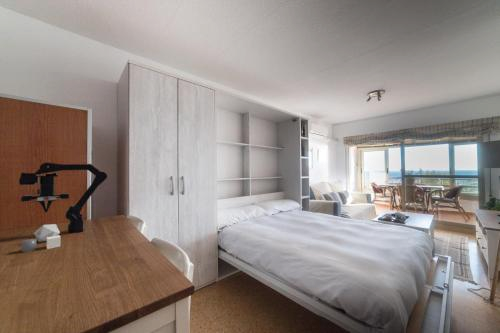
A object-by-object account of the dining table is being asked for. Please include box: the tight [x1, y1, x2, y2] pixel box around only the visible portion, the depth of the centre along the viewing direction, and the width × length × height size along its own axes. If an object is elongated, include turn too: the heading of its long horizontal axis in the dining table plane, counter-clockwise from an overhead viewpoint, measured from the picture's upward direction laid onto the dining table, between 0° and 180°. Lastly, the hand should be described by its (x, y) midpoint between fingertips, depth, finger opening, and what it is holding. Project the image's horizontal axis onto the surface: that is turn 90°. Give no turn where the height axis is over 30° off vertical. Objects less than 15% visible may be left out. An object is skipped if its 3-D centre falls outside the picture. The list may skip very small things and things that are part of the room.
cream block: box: [46, 234, 62, 250], centre depth 96 cm, size 4×4×4 cm
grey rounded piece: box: [21, 238, 38, 253], centre depth 91 cm, size 4×4×4 cm
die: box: [33, 223, 61, 243], centre depth 105 cm, size 8×9×10 cm
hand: (46, 212), depth 113 cm, fingers closed
